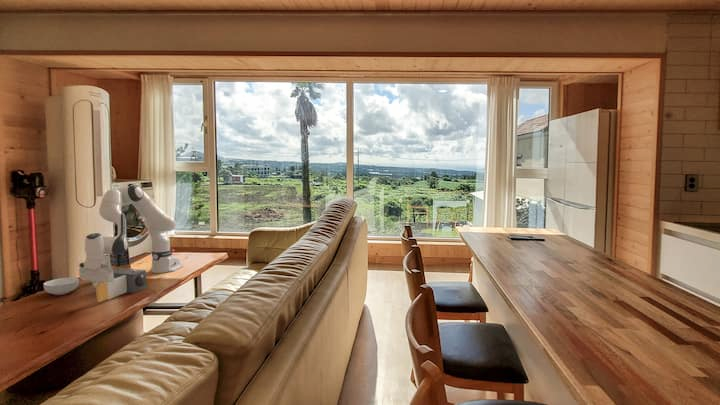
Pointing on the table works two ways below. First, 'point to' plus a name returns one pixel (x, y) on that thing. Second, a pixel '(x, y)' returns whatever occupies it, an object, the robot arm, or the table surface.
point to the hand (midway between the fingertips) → (97, 288)
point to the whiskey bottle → (120, 257)
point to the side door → (111, 288)
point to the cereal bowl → (61, 285)
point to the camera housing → (132, 278)
